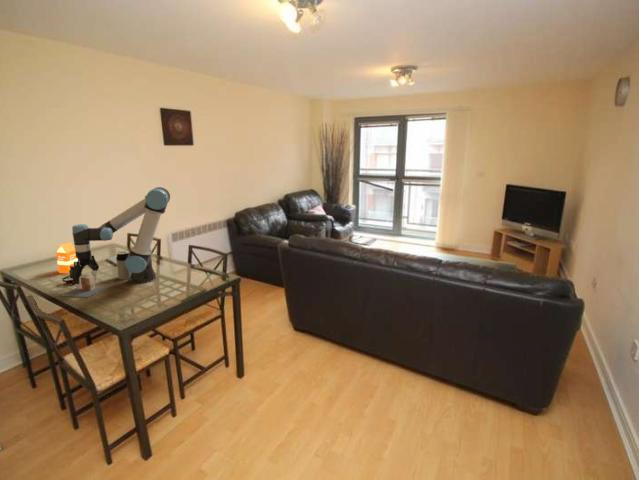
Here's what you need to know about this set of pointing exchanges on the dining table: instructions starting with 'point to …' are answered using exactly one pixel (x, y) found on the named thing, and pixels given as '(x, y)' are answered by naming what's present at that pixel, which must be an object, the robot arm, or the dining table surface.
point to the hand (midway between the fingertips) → (87, 284)
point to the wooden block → (87, 282)
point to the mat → (82, 293)
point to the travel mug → (122, 265)
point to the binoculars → (70, 277)
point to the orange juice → (66, 257)
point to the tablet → (113, 259)
